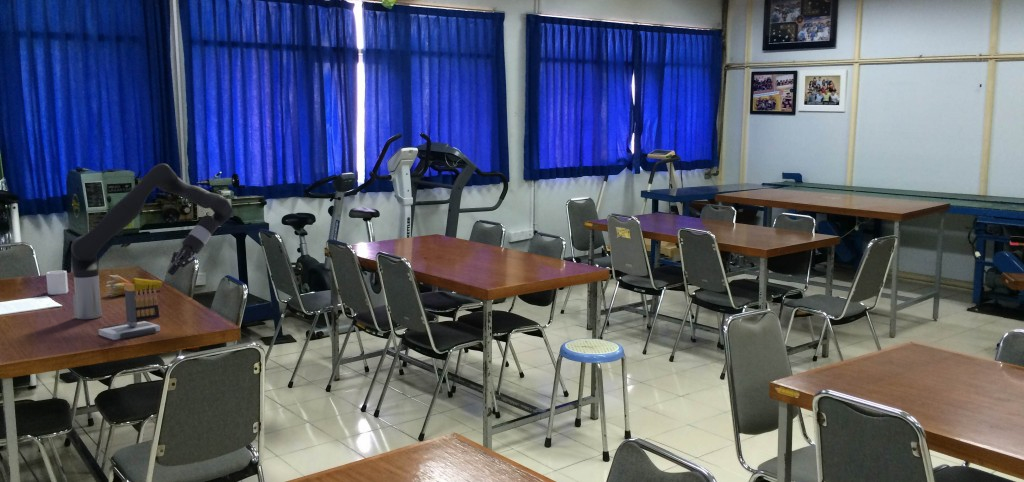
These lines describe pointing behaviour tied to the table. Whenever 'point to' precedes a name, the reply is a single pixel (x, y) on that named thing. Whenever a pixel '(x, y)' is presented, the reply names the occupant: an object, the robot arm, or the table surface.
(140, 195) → the robot arm
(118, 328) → the grey flat slab
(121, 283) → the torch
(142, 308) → the ammunition clip
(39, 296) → the table surface
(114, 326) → the grey bar
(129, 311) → the lever
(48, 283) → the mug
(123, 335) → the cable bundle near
